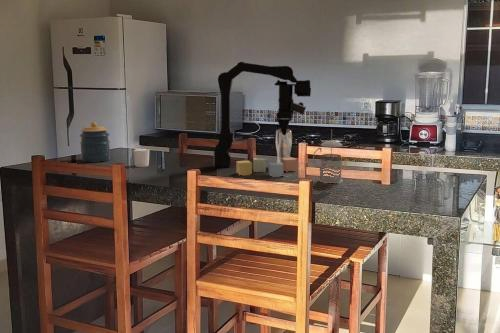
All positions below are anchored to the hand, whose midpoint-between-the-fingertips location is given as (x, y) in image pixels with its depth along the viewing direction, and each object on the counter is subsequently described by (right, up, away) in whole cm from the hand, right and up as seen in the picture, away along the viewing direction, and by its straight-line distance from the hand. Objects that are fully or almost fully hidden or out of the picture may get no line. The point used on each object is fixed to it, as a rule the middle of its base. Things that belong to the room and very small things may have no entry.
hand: (285, 133), depth 235 cm
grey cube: (-5, -18, -16) cm, 24 cm away
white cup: (-62, -14, +7) cm, 63 cm away
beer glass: (0, -13, +6) cm, 14 cm away
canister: (-85, -11, +20) cm, 88 cm away
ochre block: (-17, -17, -12) cm, 27 cm away
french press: (+15, -19, -25) cm, 35 cm away
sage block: (-11, -16, -6) cm, 20 cm away
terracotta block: (+1, -16, -5) cm, 16 cm away
